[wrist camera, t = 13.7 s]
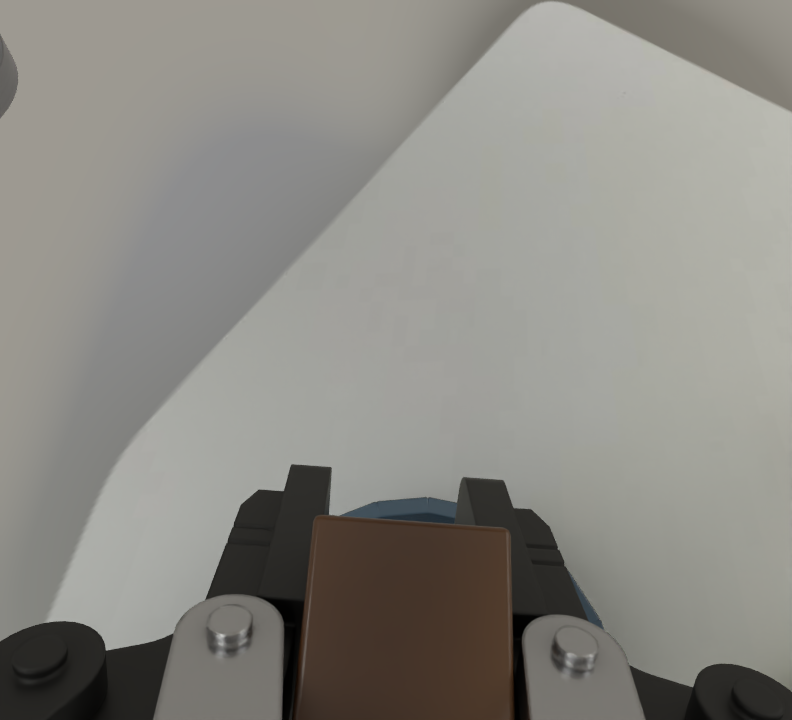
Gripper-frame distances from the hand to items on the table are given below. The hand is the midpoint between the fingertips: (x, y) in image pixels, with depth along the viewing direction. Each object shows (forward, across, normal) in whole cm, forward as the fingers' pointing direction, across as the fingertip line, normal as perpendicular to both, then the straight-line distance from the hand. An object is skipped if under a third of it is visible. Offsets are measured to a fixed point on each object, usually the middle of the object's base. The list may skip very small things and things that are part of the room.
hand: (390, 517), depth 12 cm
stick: (+5, 0, +8) cm, 9 cm away
